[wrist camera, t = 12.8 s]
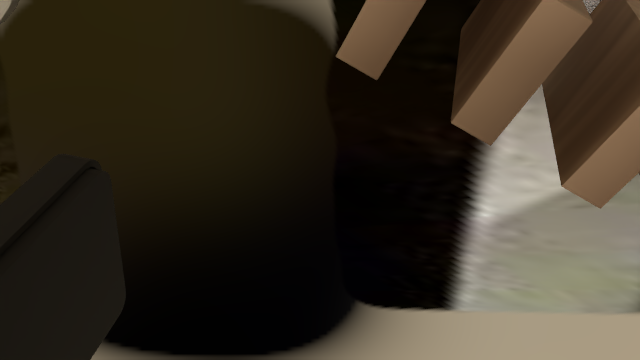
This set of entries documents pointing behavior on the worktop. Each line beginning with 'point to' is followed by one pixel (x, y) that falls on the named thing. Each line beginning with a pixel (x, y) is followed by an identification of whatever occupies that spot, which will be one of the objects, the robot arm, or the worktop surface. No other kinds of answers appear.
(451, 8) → the worktop surface
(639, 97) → the domino
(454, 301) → the worktop surface
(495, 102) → the domino
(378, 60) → the domino
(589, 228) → the worktop surface
